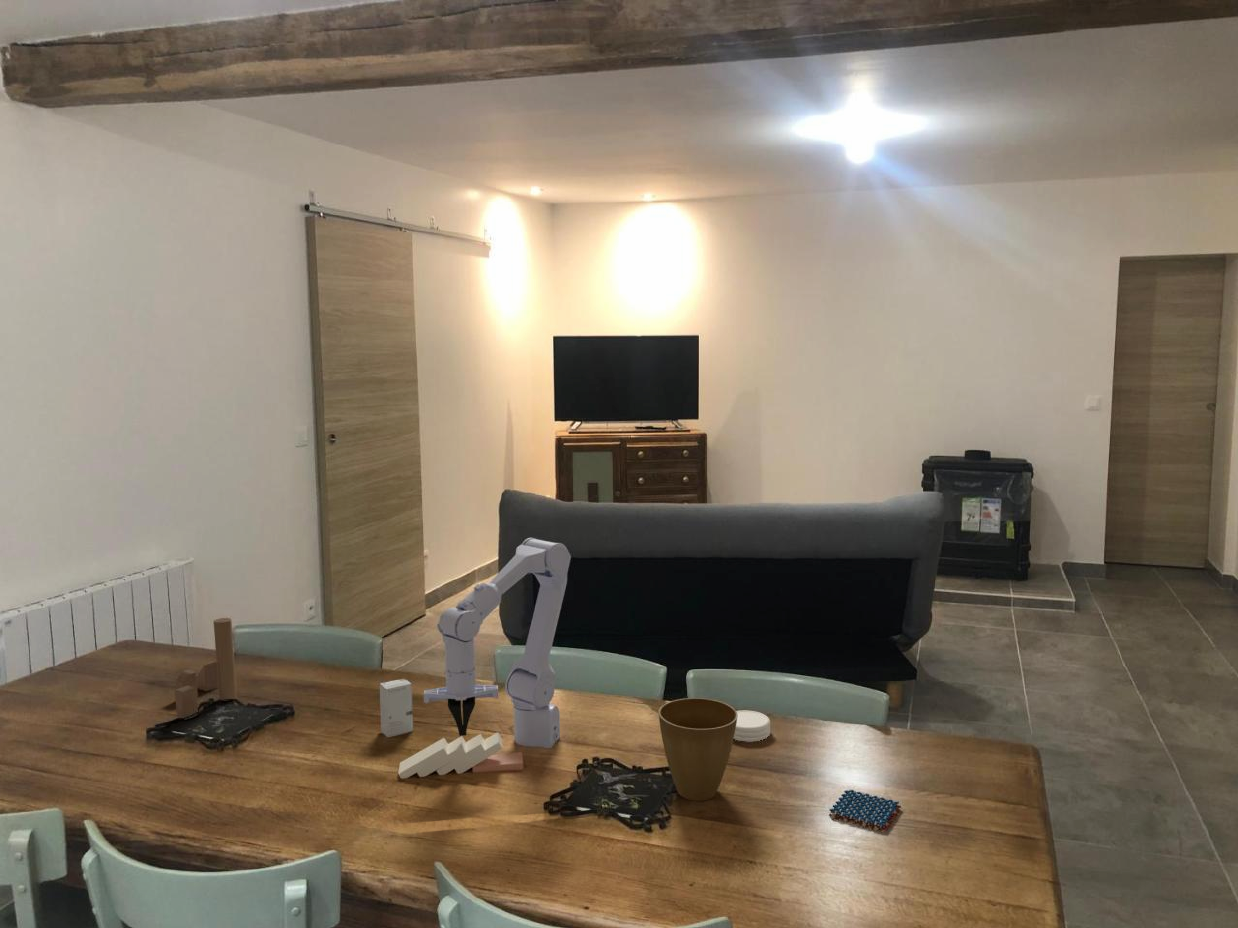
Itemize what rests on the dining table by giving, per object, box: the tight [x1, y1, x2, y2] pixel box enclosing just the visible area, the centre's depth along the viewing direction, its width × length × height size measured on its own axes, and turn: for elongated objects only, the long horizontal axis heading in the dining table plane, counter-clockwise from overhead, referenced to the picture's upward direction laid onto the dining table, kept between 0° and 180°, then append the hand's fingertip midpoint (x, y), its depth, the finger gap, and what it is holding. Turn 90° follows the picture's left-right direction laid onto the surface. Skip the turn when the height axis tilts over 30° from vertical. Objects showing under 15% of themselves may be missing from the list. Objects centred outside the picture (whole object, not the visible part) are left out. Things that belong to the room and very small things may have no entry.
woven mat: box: [828, 789, 902, 833], centre depth 169 cm, size 10×11×2 cm
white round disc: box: [734, 709, 771, 743], centre depth 204 cm, size 10×10×4 cm
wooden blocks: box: [174, 617, 238, 719], centre depth 226 cm, size 17×20×20 cm
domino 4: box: [454, 732, 503, 775], centre depth 187 cm, size 2×5×10 cm
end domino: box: [472, 751, 524, 774], centre depth 188 cm, size 2×5×10 cm
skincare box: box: [379, 678, 414, 738], centre depth 204 cm, size 6×4×12 cm
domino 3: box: [435, 733, 485, 776], centre depth 186 cm, size 2×5×10 cm
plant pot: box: [658, 697, 738, 802], centre depth 177 cm, size 15×15×16 cm
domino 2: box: [416, 736, 467, 778], centre depth 186 cm, size 2×5×10 cm
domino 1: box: [398, 737, 449, 779], centre depth 185 cm, size 2×5×10 cm
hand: (462, 733), depth 186 cm, fingers closed
